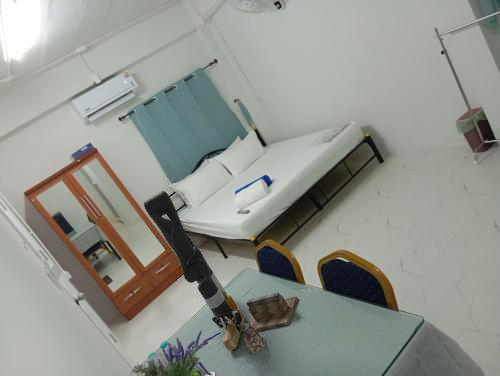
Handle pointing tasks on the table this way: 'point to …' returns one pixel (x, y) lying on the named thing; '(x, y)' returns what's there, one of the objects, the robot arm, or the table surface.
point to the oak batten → (232, 334)
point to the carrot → (229, 301)
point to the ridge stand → (271, 311)
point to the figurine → (251, 338)
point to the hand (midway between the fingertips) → (236, 332)
